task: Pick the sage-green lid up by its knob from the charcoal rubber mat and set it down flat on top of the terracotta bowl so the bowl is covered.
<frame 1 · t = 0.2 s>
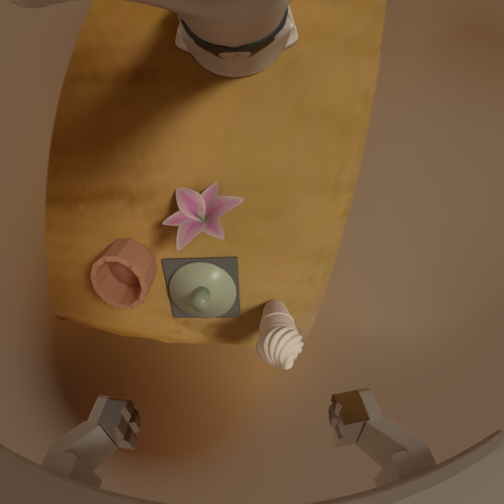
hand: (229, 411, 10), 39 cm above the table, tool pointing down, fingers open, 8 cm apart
lily: (204, 204, 46), on the table
soft serve ice cream cone: (274, 306, 57), on the table
lid: (202, 290, 53), resting on mat
bowl: (130, 264, 51), on the table
mat: (202, 289, 54), on the table
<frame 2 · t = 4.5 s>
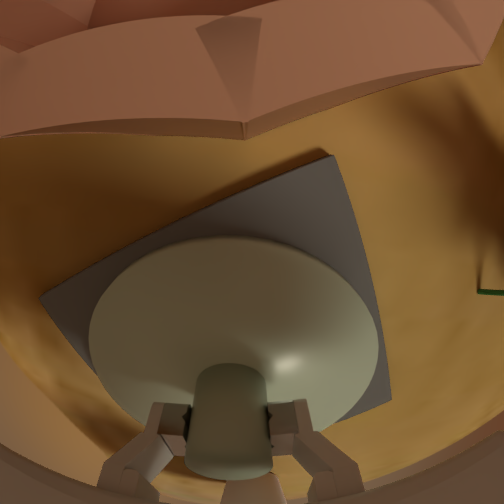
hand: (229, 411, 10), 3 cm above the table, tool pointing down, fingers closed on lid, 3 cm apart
soft serve ice cream cone: (252, 476, 18), on the table
lid: (231, 374, 12), resting on mat, touching gripper
mat: (231, 367, 12), on the table
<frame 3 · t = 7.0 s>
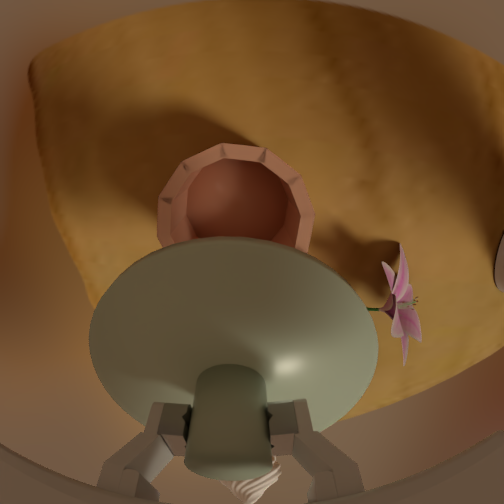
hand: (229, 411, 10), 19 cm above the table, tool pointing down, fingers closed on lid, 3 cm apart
lily: (383, 285, 30), on the table
soft serve ice cream cone: (247, 408, 37), on the table
lid: (231, 374, 12), point 17 cm above the table, touching gripper
bowl: (236, 204, 26), on the table
when the fingers open (11 cm above the table, at t = 9.6 s): lid drops 1 cm, resting on bowl.
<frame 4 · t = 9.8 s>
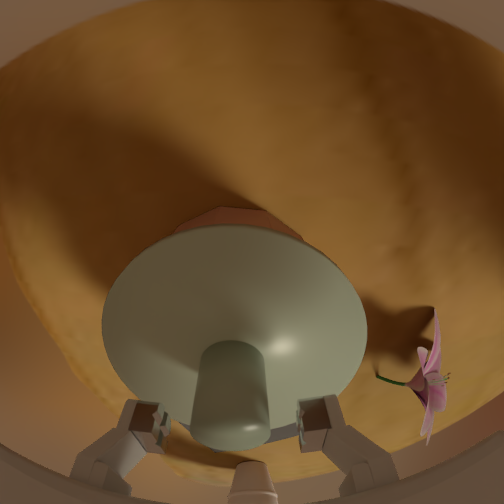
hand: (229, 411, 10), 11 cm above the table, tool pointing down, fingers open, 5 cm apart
lily: (410, 351, 23), on the table
soft serve ice cream cone: (251, 465, 31), on the table
lid: (232, 353, 13), point 7 cm above the table, touching bowl
bowl: (235, 285, 20), on the table, touching lid
mat: (241, 413, 25), on the table
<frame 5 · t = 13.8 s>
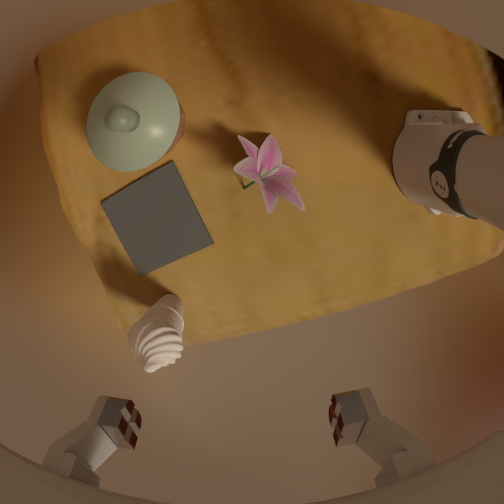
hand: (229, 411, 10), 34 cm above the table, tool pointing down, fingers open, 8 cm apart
lily: (266, 170, 40), on the table
soft serve ice cream cone: (171, 303, 47), on the table
lid: (131, 121, 30), point 7 cm above the table, touching bowl
mat: (154, 221, 42), on the table
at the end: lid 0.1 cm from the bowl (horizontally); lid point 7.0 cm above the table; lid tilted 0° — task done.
